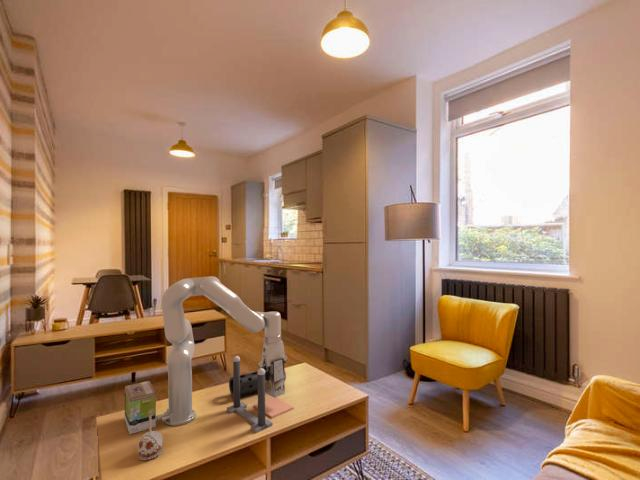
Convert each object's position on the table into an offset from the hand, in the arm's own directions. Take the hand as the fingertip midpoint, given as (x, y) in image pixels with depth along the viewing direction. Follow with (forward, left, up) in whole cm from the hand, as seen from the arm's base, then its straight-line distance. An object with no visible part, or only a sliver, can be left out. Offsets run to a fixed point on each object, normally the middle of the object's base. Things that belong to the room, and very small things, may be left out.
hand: (273, 377), depth 153 cm
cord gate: (-13, 0, -14) cm, 19 cm away
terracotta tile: (0, 0, -14) cm, 14 cm away
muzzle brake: (+4, +20, -14) cm, 25 cm away
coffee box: (0, 0, -7) cm, 7 cm away
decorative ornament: (-52, +2, -14) cm, 54 cm away
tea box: (-49, +28, -14) cm, 58 cm away
